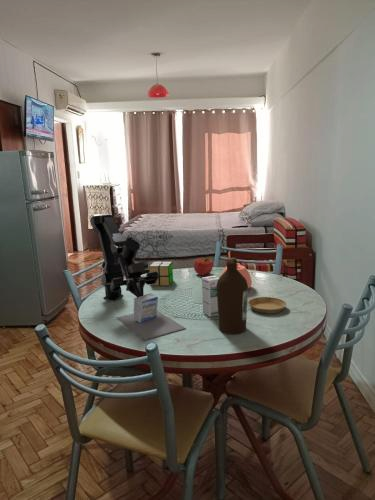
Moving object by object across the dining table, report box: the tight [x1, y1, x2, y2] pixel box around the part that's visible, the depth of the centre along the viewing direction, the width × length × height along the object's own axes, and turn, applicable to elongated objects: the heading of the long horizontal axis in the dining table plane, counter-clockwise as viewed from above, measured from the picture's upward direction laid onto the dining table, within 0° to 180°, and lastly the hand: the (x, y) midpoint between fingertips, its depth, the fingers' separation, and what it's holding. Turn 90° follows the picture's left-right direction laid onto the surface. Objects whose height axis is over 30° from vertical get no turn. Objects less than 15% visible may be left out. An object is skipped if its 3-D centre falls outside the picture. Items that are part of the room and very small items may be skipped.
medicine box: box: [133, 293, 159, 323], centre depth 135 cm, size 8×4×9 cm, turn 136°
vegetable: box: [193, 256, 215, 277], centre depth 198 cm, size 11×10×10 cm
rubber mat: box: [116, 309, 187, 341], centre depth 134 cm, size 24×16×1 cm, turn 32°
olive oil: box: [216, 257, 249, 335], centre depth 124 cm, size 11×11×25 cm
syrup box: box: [201, 274, 220, 318], centre depth 140 cm, size 6×6×14 cm
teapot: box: [220, 262, 253, 290], centre depth 170 cm, size 22×15×12 cm
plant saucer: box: [247, 296, 287, 314], centre depth 145 cm, size 15×15×3 cm
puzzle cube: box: [148, 261, 174, 287], centre depth 184 cm, size 10×10×10 cm
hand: (142, 299), depth 137 cm, fingers closed
